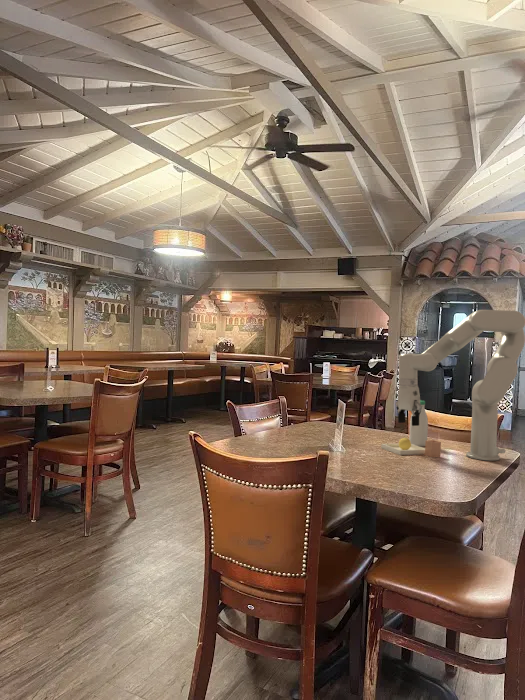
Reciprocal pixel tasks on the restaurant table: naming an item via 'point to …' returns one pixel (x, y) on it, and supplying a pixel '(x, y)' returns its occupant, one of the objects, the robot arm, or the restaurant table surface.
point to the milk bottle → (419, 428)
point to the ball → (404, 443)
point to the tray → (396, 449)
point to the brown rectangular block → (432, 448)
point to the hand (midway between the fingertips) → (408, 424)
